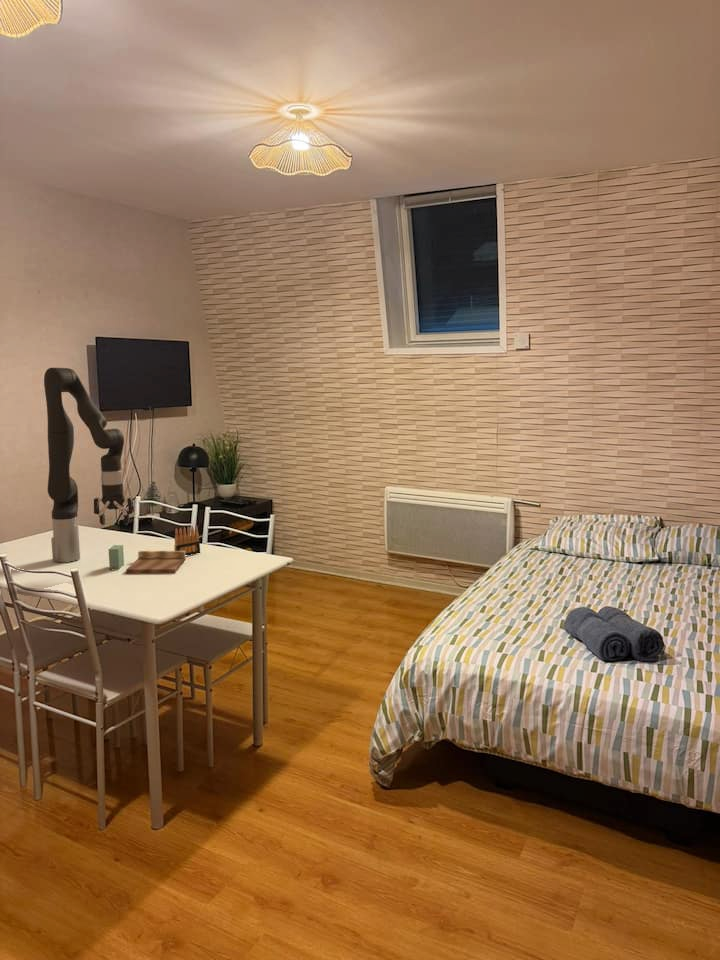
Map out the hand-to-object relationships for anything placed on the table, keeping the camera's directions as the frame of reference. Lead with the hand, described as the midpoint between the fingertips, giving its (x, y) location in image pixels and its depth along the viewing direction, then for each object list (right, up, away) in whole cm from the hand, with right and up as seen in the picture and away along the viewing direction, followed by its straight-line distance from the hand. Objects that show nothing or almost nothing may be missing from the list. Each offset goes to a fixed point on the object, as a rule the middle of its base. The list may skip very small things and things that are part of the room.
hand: (114, 524), depth 254 cm
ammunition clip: (+22, -14, +20) cm, 33 cm away
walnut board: (+15, -16, +3) cm, 22 cm away
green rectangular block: (0, -17, +3) cm, 17 cm away
